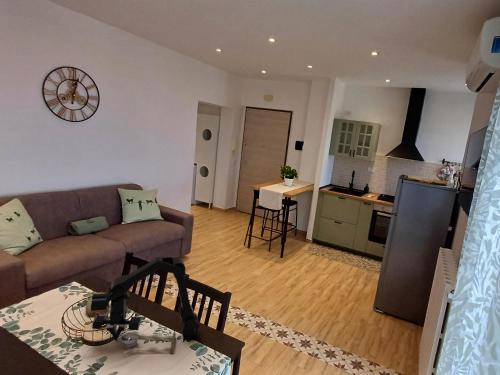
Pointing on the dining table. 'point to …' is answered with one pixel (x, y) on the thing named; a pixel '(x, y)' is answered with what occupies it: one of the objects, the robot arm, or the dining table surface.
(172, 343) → the channel
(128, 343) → the stud
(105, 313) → the supplement bottle
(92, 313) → the bread roll
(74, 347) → the dining table surface
